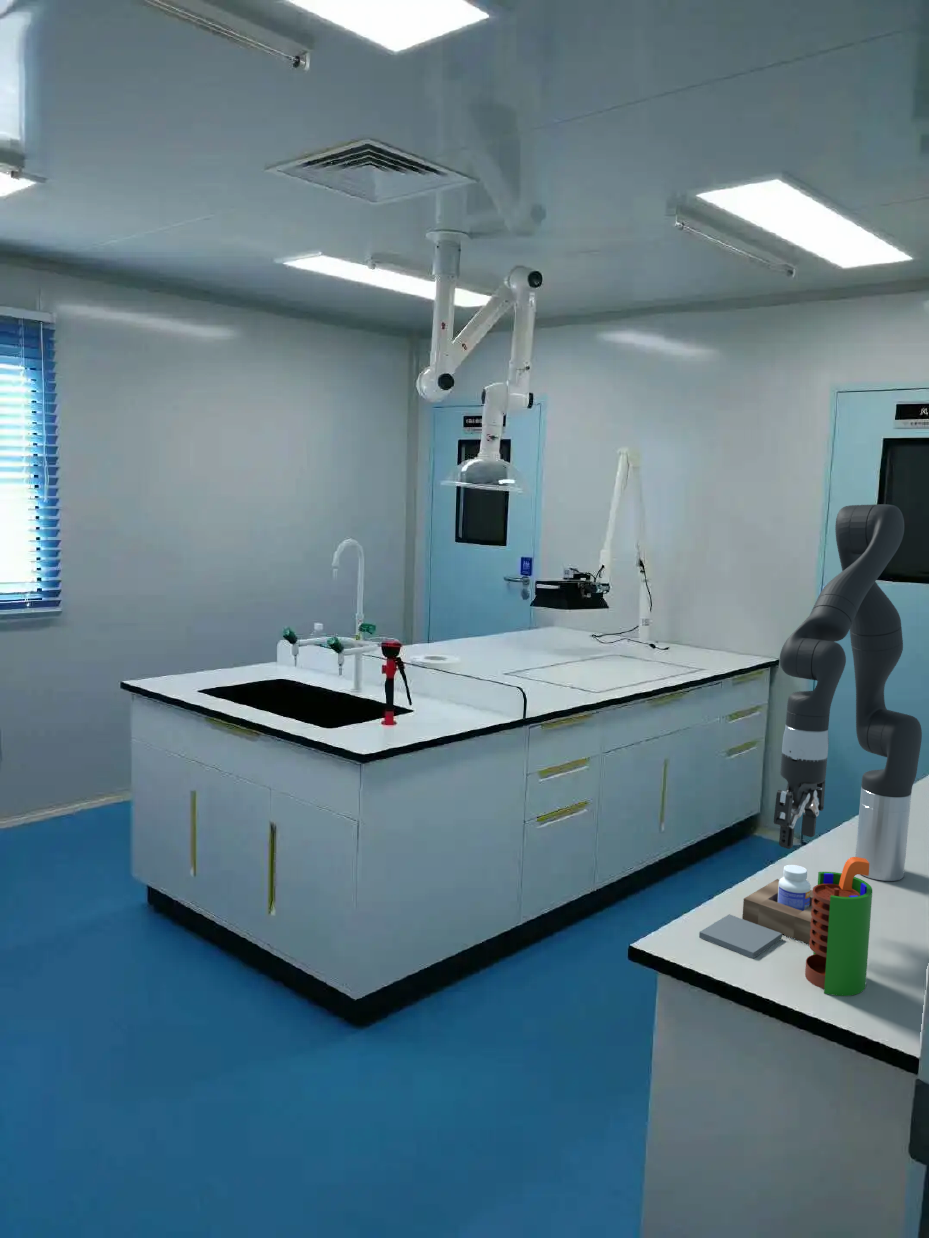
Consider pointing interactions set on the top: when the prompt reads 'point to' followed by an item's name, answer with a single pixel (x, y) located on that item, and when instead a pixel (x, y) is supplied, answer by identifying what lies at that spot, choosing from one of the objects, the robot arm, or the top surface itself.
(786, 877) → the pill bottle
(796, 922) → the socket block
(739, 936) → the mat
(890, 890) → the top surface
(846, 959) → the green brown cylinder
